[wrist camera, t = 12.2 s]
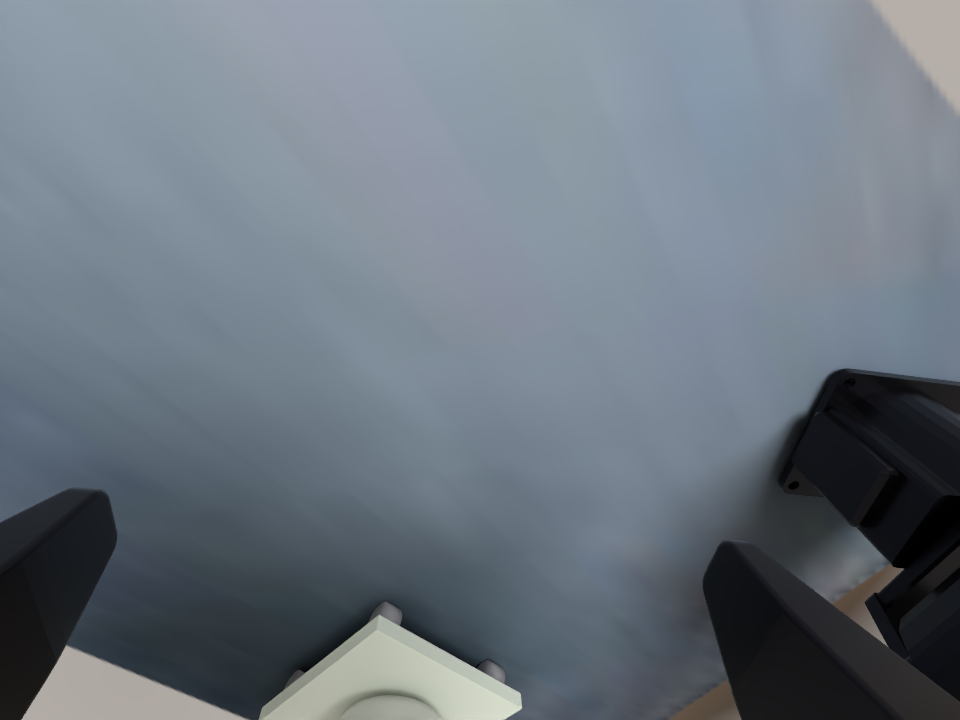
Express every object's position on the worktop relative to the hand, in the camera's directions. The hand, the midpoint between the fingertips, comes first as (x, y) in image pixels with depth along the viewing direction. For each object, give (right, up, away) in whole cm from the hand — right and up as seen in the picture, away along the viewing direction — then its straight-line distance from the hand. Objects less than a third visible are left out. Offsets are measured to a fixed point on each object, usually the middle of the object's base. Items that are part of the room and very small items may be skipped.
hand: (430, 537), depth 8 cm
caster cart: (-4, -15, +22) cm, 27 cm away
